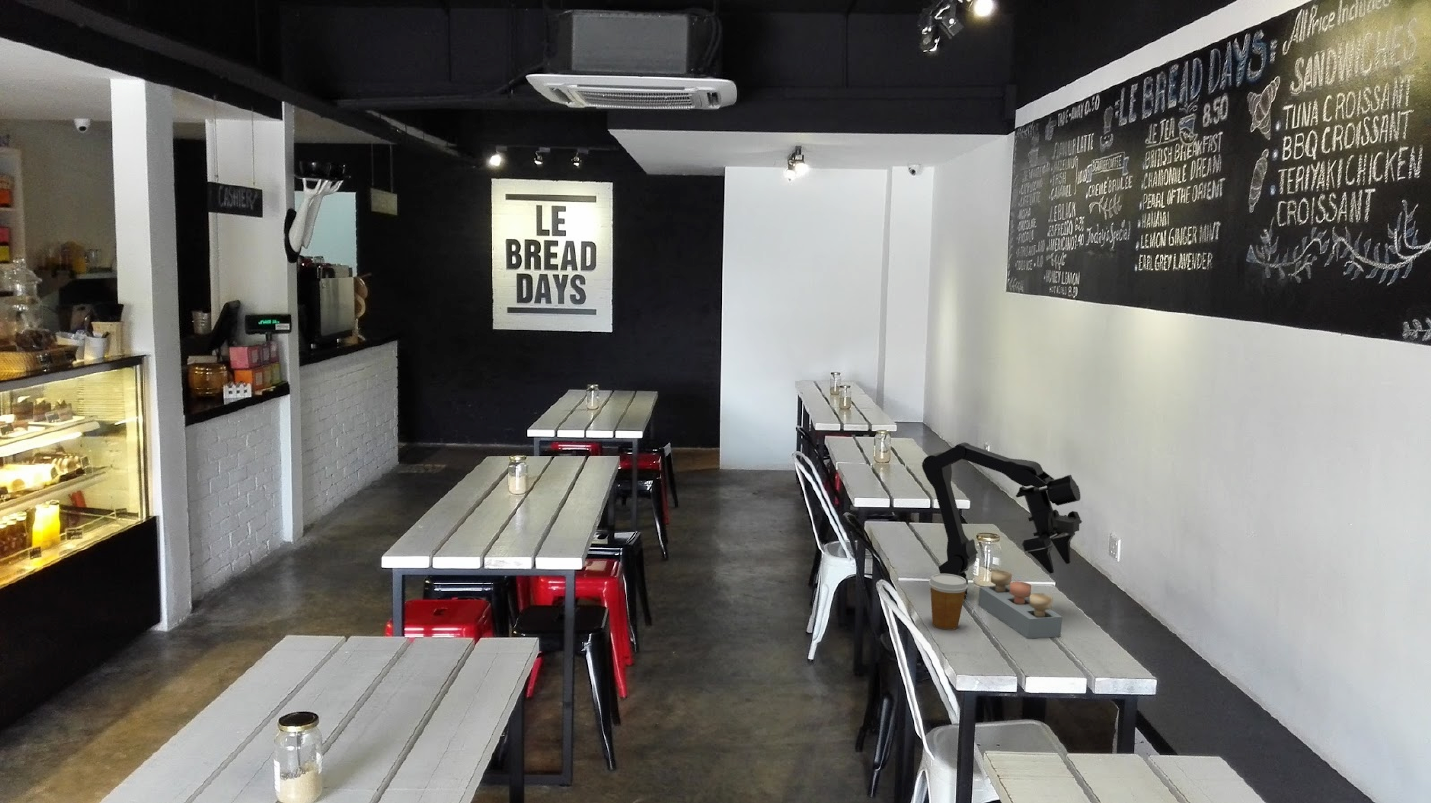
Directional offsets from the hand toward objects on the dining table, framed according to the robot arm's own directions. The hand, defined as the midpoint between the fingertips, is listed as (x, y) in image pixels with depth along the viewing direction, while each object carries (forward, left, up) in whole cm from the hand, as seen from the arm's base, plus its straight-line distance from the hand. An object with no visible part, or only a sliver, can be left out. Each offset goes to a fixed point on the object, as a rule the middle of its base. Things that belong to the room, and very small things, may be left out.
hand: (1060, 568), depth 261 cm
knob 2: (-8, -12, -11) cm, 18 cm away
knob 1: (-13, +6, -11) cm, 18 cm away
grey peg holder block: (-10, -3, -13) cm, 17 cm away
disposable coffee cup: (-30, -9, -14) cm, 34 cm away
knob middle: (-10, -3, -11) cm, 16 cm away
